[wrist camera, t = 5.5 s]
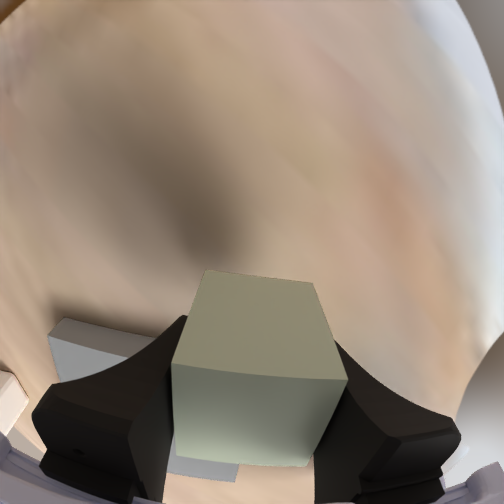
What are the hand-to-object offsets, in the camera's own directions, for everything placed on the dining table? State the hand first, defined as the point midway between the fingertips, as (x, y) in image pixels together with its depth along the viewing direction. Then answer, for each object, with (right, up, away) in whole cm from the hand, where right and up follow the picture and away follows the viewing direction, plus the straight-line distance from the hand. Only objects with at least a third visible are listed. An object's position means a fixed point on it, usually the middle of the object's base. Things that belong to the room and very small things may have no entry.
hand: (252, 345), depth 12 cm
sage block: (0, +1, +2) cm, 2 cm away
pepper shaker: (-25, -10, +10) cm, 29 cm away
